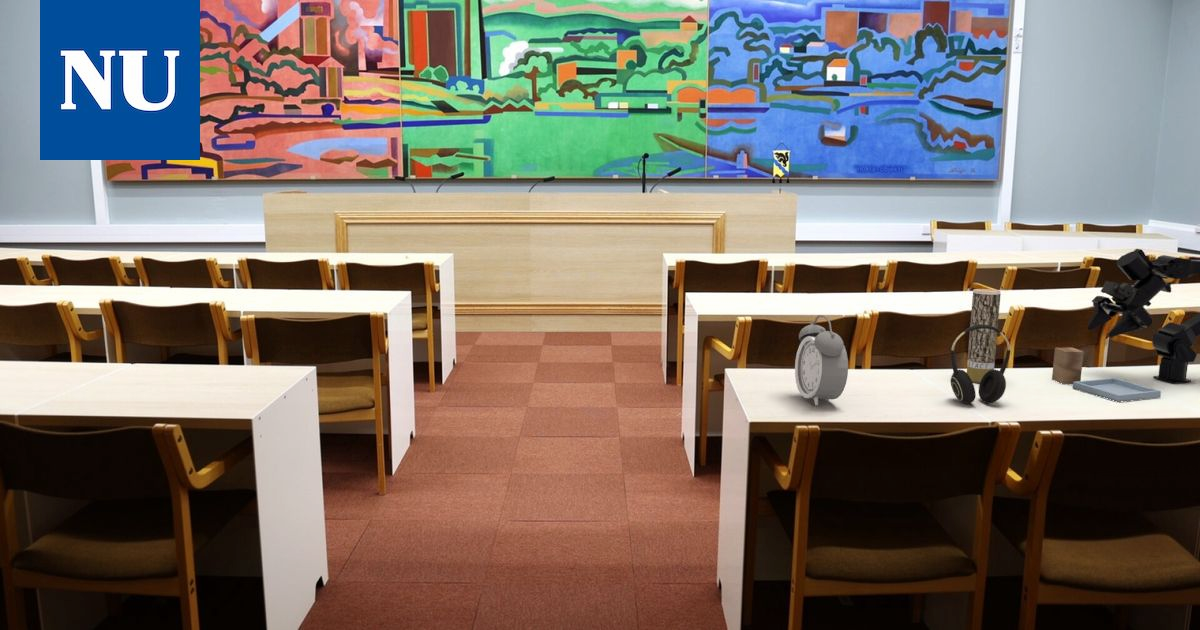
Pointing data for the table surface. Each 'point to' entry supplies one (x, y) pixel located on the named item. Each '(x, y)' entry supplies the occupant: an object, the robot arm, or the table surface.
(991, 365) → the paper tube
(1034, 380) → the table surface
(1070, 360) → the walnut block
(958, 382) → the headphones
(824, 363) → the alarm clock
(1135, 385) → the tray
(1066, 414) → the table surface
